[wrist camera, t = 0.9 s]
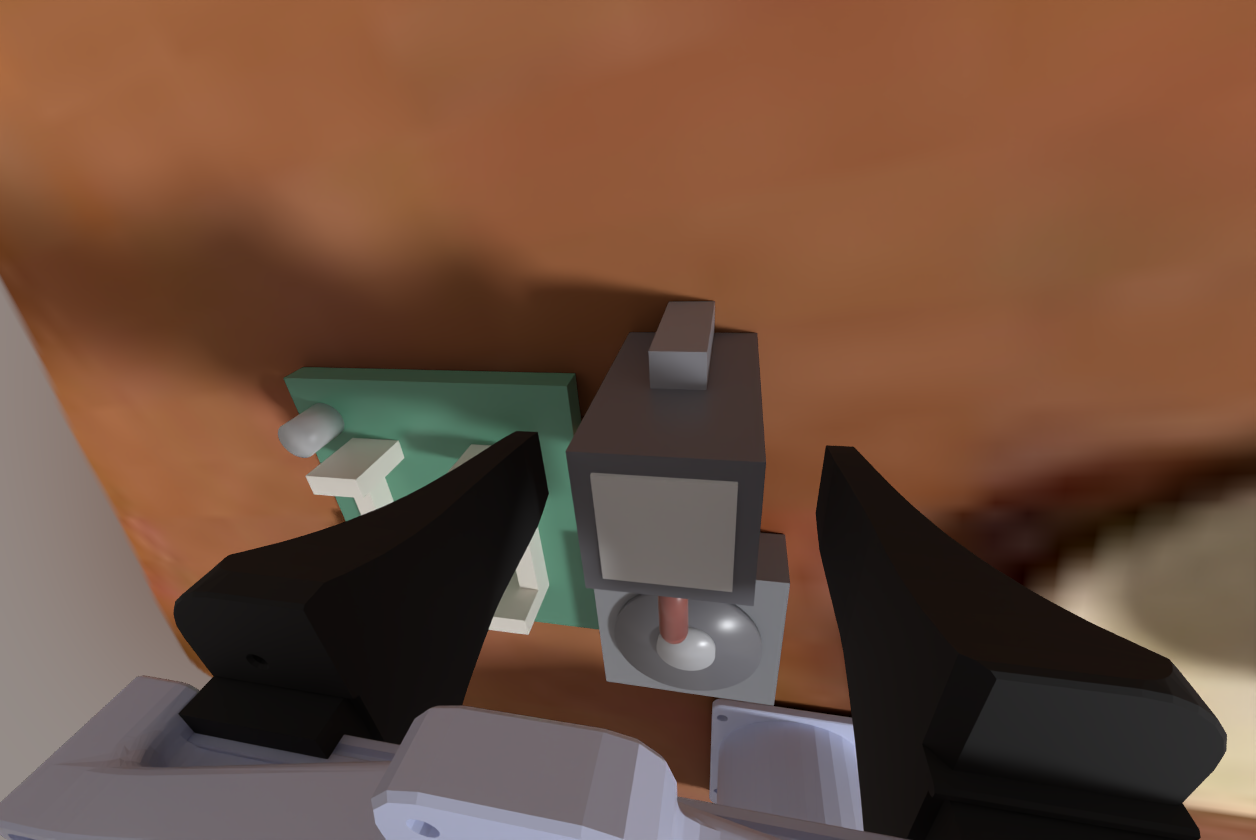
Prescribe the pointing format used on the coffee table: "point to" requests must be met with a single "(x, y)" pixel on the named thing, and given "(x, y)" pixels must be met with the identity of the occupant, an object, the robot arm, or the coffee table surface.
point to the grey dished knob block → (702, 638)
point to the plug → (673, 468)
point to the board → (448, 459)
